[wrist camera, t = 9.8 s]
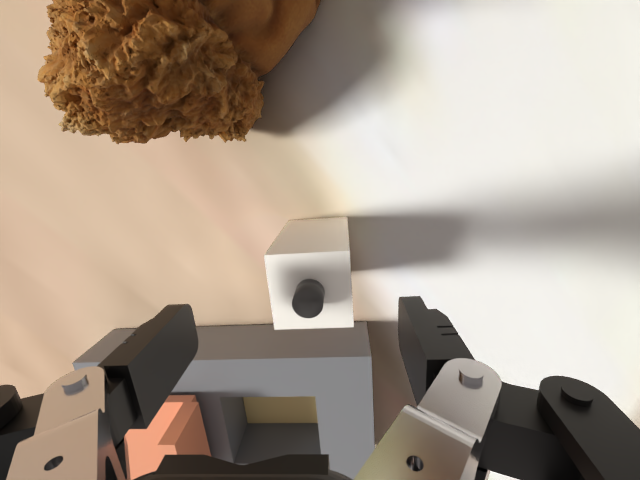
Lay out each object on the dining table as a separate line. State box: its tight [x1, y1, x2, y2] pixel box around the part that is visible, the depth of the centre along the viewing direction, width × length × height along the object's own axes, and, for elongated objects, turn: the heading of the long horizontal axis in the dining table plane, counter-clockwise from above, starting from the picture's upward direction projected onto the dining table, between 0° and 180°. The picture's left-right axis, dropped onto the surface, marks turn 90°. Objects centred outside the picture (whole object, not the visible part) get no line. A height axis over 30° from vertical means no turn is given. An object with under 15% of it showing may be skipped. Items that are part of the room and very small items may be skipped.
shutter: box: [125, 395, 211, 480], centre depth 20 cm, size 8×7×4 cm
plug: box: [264, 217, 354, 330], centre depth 18 cm, size 4×4×8 cm
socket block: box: [73, 321, 375, 480], centre depth 24 cm, size 20×12×4 cm, turn 94°
